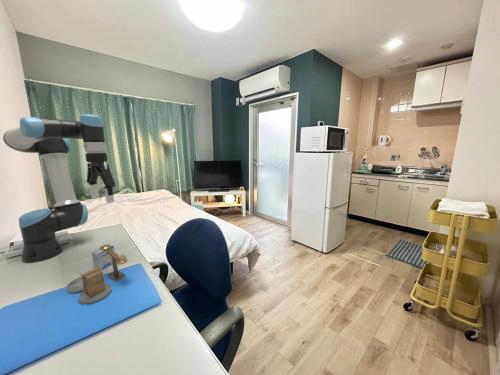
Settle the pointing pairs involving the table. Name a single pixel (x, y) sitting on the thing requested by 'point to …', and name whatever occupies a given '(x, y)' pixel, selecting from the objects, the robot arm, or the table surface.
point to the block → (93, 282)
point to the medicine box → (102, 258)
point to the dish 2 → (87, 300)
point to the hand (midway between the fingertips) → (102, 200)
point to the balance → (115, 262)
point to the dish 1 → (75, 286)
